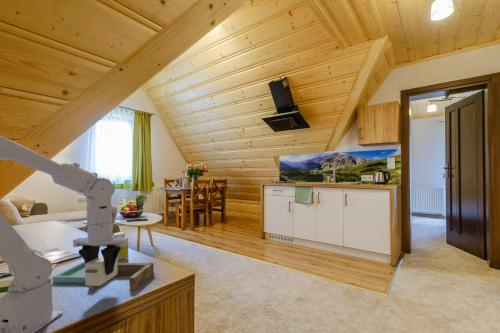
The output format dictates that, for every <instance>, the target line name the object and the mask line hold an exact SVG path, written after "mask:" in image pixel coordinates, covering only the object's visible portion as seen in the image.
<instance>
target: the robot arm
mask: <svg viewBox="0 0 500 333" xmlns="http://www.w3.org/2000/svg"><path fill="white" fill-rule="evenodd" d="M2 160H3V161H7V160H9V161H13V162H16V163H17V164H20V165H24V166H26V167H29V168H32V169H34V170H36V171H39V172H42V173H44V174H47V175H49V176H51V178H52V181H53V182H54V184H55V185H56V184H57V185H59V186H61V187H64V188H66V189H68V190H71V191H73V192H76V193H78V194H82V195H84V196H85V198H86V220H87V221H86V224H87V226H86V228H87V237H78V238H75V239H72V246H73V248H78V247H81V249H79V250H78V254H79V256H80V257H81V258H82V259H83V262H84V261H85V263H88V262H90V261H92V260H94V259H96V258H98V257H99V256H100V254H99V253H101V256H102V255H103V259H104V263H105V273H106V275H109V274H111V273H112V272H113V270H114V265H115V261H116V258H117V256H118V253H119V251H120V249H121V248H122V247H125V246H127V245H128V246H129V238H128V237H127V238H121V237H115V236H113V234H114V233H113V211H112V210H113V208H112V207H113V206H112V197H113V195H114V194H115V192H116V187H114V184H113V183H112V181H111V180H110V179H108V178H105V177H98V176H99V174H98V173H97V172H90V171H88V170H85V169H84V168H82V167H80V166H81V165H80V163H77V162H73V163H71V162H69V161H68V162H67V161H66V162H63V163H58V162H57V161H54V160H52V159H50V158H49V157H46V156H45V155H42V154H40V153H38V152H36V151H34V150H32V149H30V148H28V147H26V146H24V145H22V144H20V143H17V142H15V141H14V140H11V139H9V138H6V137H4V136H1V135H0V161H2ZM101 247H105V248H103V249H101ZM100 249H101V250H100ZM0 258H1V259H2V260H3V262H5V264H6V265H7V267H8V268H7V270H8V273H9V274H10V275H11V276H12V277H13V279H12V280H11V282H10V284H9V285H8V289H7V291H6V293H5V294H3V295H2V296H1V297H0V333H36V332H38V331H39V330H41V329H42V328H43V327H45V326H46V325H48V324H49V323H51V322H53V321H54V320H55V319H57V318H58V317H60V316H61V315H62V314H63V311H62V310H54V309H53V288H52V286H53V285H52V284H53V281H52V273H53V263H52V262H51V261H50V260H49V259H48V258H46V257H44V255H43V254H42V253H41V251H39V250H35V249H33V248H31V247H30V245H29V244H28V243H27V241H25V239H24V238H23V237H22V236H21V235H20V234H19V232H18V231H17V230H16V229H15V228H14V227H13V225H12V224H11V223H10V222H9V221H8V220H7V218H6V217H5V216H4V215H3V214H2V213H1V212H0Z"/></svg>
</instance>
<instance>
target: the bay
mask: <svg viewBox="0 0 500 333" xmlns="http://www.w3.org/2000/svg"><path fill="white" fill-rule="evenodd" d="M117 269H118V274H117V275H115V276H116V277H117V276H119V277H120V276H121V277H123V276H124V277H126V276H127V277H128V278H129V291H136V290H137V289H138V288H139V287H140V286H142V285H143V284H145V283H146V282H147V280H148V279H150V278H151V277H152V276H153V275H154V272H155V271H154V262H120V263H117ZM115 276H114V277H115ZM129 276H130V277H129ZM98 287H99V286H89V285H88V290H95V289H97V288H98Z"/></svg>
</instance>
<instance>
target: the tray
mask: <svg viewBox="0 0 500 333" xmlns="http://www.w3.org/2000/svg"><path fill="white" fill-rule="evenodd" d="M117 263H119V261H117ZM85 264H86V263H85V261H84V260H83V261H82V262H80V263H78V264H76V265H73V266H72V267H70V268H68V269H66V270H63V271H62V272H60V273H58V274H56V275H54V276H51V279H52V284H54V285H55V284H57V285H59V284H61V285H62V284H63V285H86V284H85Z"/></svg>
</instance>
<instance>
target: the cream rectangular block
mask: <svg viewBox="0 0 500 333" xmlns="http://www.w3.org/2000/svg"><path fill="white" fill-rule="evenodd" d="M117 274H118V269H117V258H116V261H115V265H114V270H113V272H112V273H111V274H109V275H106V273H105V263H104V259H103V255H102V254H101V255H99V256H98V258H96V259H94V260H92V261H90V262H88V263H86V264H85V284H84V285H85V286H88V287H89V286H98V287H99V286H102V285H104V284H105V283H106V282H107V281H109V280H110V279H112V278H114V277H115V275H117Z"/></svg>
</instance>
